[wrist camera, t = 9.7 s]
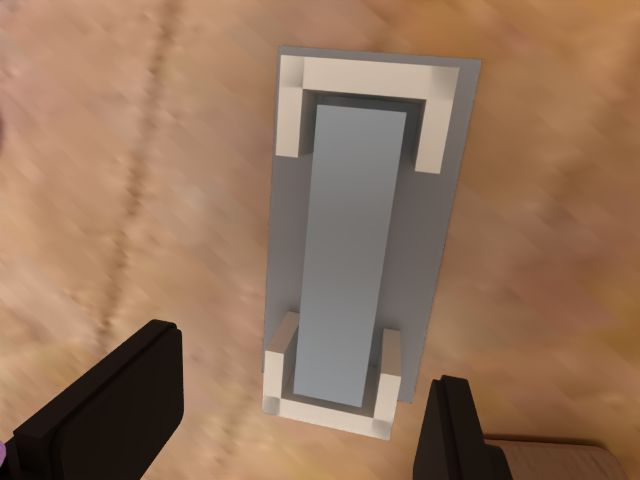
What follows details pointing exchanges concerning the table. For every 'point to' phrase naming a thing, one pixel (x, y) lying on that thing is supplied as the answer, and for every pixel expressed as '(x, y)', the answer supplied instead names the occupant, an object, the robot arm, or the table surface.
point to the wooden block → (559, 461)
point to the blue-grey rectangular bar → (345, 248)
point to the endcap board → (405, 222)
